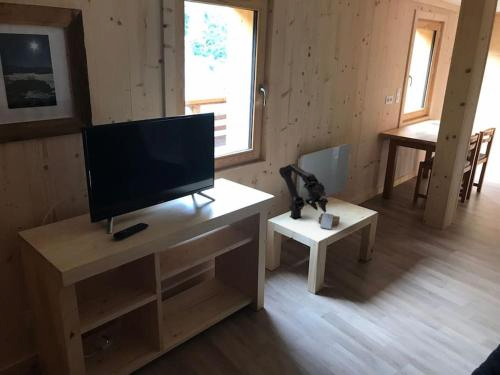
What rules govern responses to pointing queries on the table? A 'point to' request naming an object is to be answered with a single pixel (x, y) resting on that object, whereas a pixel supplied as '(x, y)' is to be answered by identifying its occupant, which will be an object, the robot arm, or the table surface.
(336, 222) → the slotted case
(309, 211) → the table surface
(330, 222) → the cover plate
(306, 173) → the robot arm
